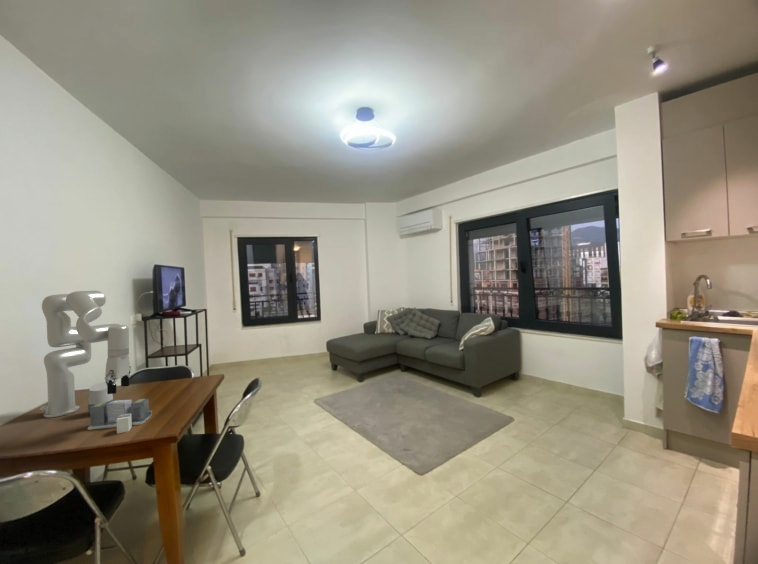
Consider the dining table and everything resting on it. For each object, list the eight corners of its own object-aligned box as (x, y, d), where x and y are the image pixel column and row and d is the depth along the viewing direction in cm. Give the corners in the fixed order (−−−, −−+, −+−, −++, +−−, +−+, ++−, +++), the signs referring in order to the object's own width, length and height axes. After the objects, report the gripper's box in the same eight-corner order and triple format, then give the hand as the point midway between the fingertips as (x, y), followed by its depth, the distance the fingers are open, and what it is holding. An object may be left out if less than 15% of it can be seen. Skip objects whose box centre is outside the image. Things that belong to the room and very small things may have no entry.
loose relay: (116, 433, 132) (116, 419, 132) (120, 429, 137) (119, 414, 137) (128, 431, 134) (128, 416, 134) (131, 426, 139) (131, 412, 139)
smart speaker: (84, 417, 150) (84, 388, 150) (92, 410, 158) (91, 383, 158) (109, 413, 154) (109, 385, 154) (116, 407, 162) (115, 380, 162)
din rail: (87, 430, 137) (86, 408, 137) (101, 421, 145) (100, 400, 145) (142, 424, 141) (141, 403, 141) (152, 415, 150) (151, 396, 150)
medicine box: (132, 417, 145) (132, 399, 145) (125, 422, 141) (125, 403, 141) (115, 418, 145) (114, 400, 145) (107, 423, 140) (106, 404, 140)
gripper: (120, 348, 150) (121, 384, 151) (95, 357, 133) (96, 397, 134) (138, 348, 152) (138, 383, 152) (116, 356, 135) (116, 396, 135)
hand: (118, 389), depth 143 cm, fingers open, 9 cm apart
